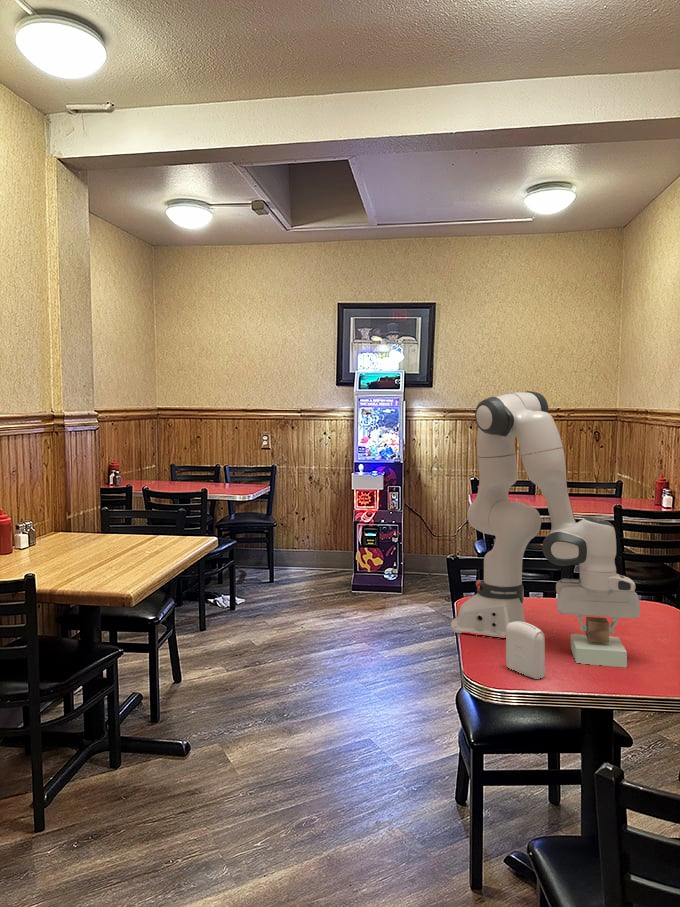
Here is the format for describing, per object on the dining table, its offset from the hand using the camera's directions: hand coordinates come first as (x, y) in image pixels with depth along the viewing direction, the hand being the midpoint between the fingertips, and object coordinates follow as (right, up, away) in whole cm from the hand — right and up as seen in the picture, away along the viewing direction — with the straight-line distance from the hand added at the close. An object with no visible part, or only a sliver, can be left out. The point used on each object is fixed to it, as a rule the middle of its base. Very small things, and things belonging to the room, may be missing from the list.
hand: (597, 632), depth 166 cm
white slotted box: (-22, -7, -10) cm, 25 cm away
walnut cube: (0, -2, 0) cm, 2 cm away
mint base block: (0, -7, 0) cm, 7 cm away
